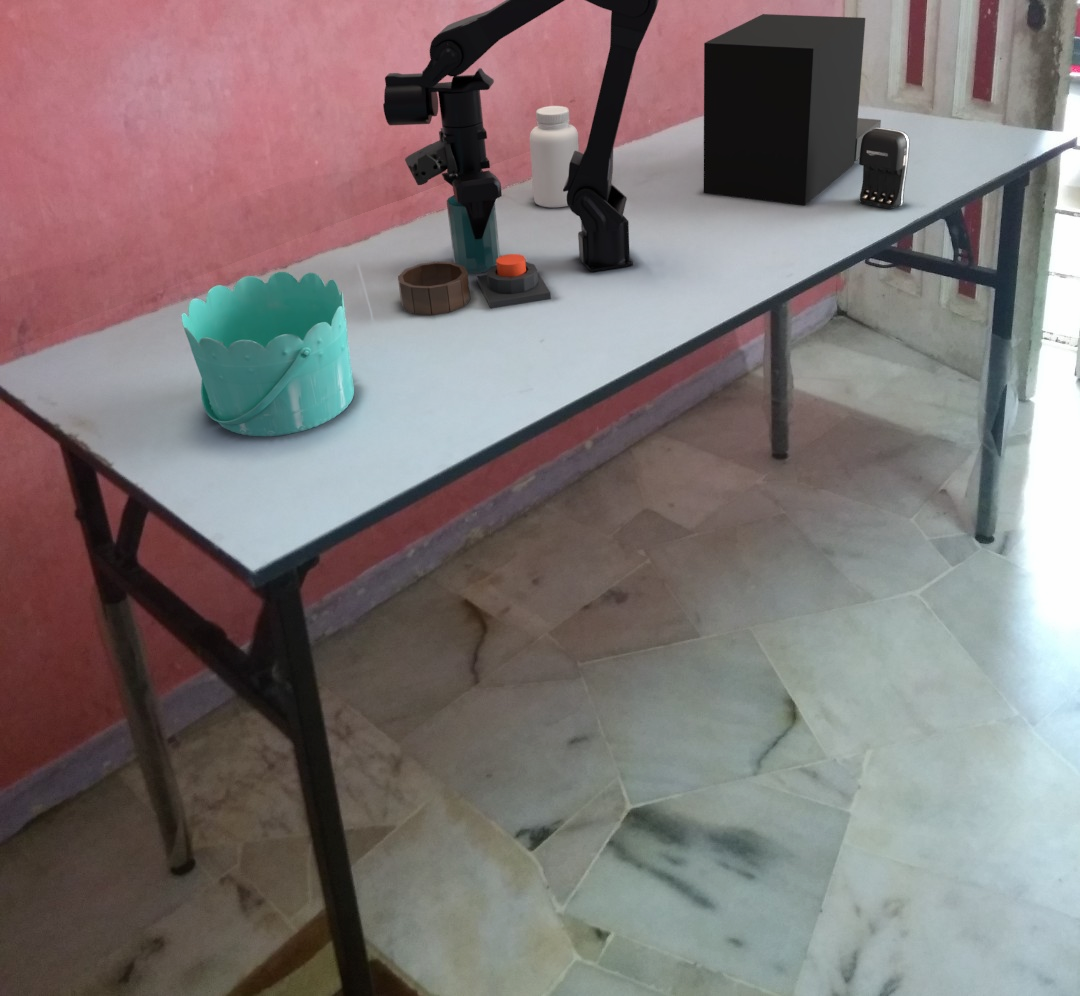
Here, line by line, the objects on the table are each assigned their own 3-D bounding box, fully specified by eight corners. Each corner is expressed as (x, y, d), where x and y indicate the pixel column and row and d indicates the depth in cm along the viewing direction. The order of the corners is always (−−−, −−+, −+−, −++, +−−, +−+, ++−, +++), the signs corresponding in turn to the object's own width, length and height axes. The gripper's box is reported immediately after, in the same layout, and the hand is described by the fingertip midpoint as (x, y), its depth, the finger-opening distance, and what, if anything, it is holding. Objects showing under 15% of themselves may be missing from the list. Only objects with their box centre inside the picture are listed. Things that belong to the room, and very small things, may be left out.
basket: (376, 420, 131) (358, 316, 124) (215, 457, 127) (187, 352, 120) (343, 355, 147) (325, 260, 140) (199, 386, 142) (173, 289, 135)
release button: (495, 270, 161) (493, 256, 160) (522, 266, 161) (521, 252, 160) (500, 280, 157) (499, 266, 156) (529, 276, 158) (527, 262, 157)
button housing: (477, 282, 164) (475, 262, 163) (535, 273, 165) (533, 253, 164) (490, 308, 156) (488, 288, 154) (551, 299, 157) (549, 278, 156)
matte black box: (878, 144, 205) (891, 3, 192) (806, 205, 181) (814, 48, 168) (784, 136, 214) (790, 0, 201) (703, 193, 190) (704, 43, 177)
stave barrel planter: (463, 284, 164) (460, 257, 162) (474, 308, 156) (471, 281, 154) (398, 294, 163) (394, 267, 160) (406, 319, 155) (402, 292, 153)
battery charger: (852, 204, 180) (858, 131, 174) (865, 197, 182) (871, 124, 176) (892, 212, 176) (899, 137, 170) (905, 205, 178) (912, 131, 172)
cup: (495, 253, 173) (489, 188, 168) (504, 269, 168) (498, 202, 162) (451, 260, 172) (443, 195, 167) (458, 276, 167) (451, 209, 161)
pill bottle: (577, 208, 188) (572, 115, 180) (529, 208, 190) (522, 116, 181) (585, 193, 194) (580, 102, 186) (539, 193, 196) (532, 103, 188)
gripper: (396, 114, 165) (411, 218, 174) (414, 147, 150) (429, 260, 158) (472, 104, 167) (483, 208, 176) (497, 136, 152) (507, 248, 160)
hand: (474, 230), depth 167 cm, fingers closed on cup, 7 cm apart
